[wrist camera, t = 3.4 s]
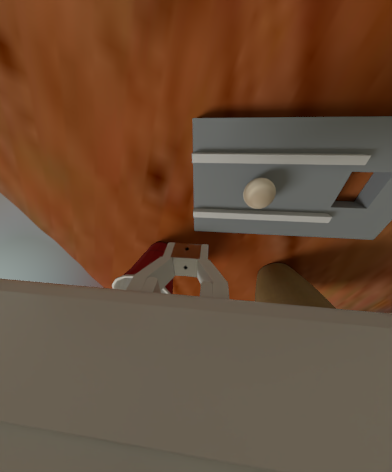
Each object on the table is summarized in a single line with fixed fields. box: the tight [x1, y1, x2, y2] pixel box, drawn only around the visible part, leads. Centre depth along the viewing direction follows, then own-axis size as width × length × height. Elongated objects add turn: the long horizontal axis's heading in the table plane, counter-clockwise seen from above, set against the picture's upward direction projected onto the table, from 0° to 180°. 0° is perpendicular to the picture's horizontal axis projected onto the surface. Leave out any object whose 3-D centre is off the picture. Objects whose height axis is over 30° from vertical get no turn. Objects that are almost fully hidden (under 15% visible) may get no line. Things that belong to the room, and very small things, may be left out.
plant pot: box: [255, 263, 336, 309], centre depth 29 cm, size 15×15×16 cm
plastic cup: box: [112, 242, 173, 294], centre depth 29 cm, size 11×11×12 cm
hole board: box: [192, 116, 392, 240], centre depth 21 cm, size 16×30×4 cm, turn 90°
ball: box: [243, 178, 276, 209], centre depth 20 cm, size 4×4×4 cm
